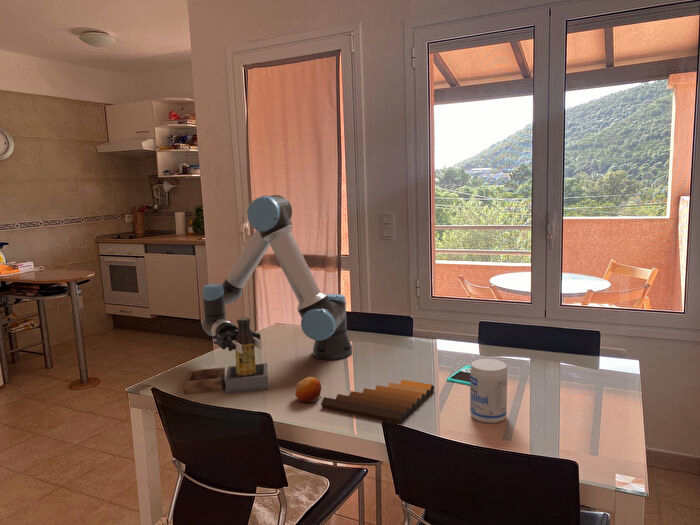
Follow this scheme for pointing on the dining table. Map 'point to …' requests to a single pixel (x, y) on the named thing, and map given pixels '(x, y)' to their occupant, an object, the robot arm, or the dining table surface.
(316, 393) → the fruit
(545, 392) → the dining table surface
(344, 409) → the brown ridged flat piece
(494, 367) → the supplement tub
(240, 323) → the sauce bottle
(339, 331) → the robot arm
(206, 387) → the walnut holder
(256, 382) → the grey square tray
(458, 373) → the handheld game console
